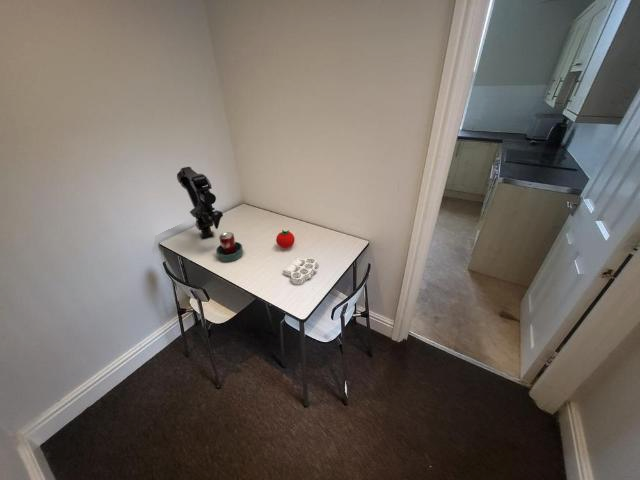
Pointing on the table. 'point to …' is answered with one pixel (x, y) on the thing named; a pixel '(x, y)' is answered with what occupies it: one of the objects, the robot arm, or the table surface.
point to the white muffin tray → (301, 269)
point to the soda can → (228, 243)
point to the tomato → (285, 239)
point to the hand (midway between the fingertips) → (212, 226)
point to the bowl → (232, 256)
